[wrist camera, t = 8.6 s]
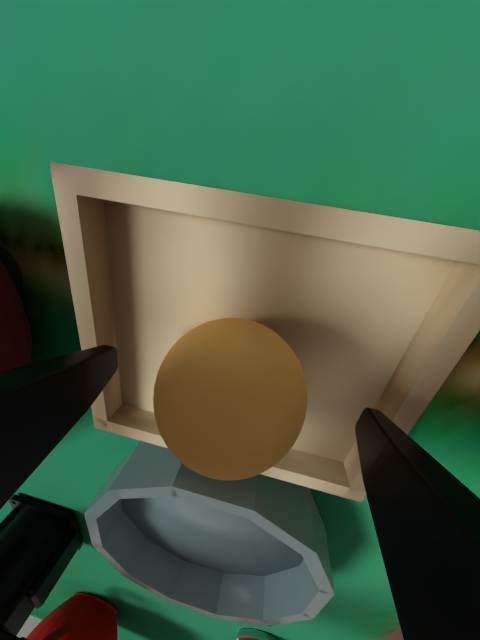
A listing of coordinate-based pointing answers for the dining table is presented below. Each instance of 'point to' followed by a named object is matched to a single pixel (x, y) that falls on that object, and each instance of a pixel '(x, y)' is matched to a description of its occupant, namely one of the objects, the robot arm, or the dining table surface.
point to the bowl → (213, 539)
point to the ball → (230, 399)
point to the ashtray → (12, 316)
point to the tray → (269, 301)
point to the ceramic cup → (78, 620)
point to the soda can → (253, 635)
